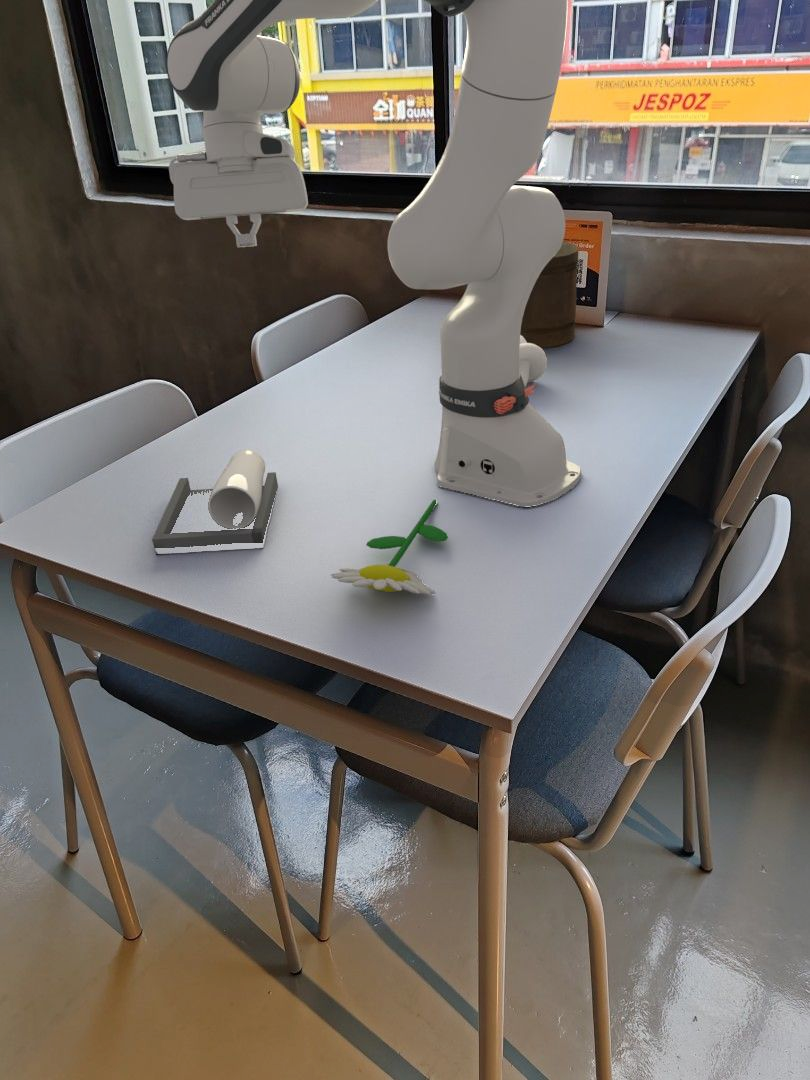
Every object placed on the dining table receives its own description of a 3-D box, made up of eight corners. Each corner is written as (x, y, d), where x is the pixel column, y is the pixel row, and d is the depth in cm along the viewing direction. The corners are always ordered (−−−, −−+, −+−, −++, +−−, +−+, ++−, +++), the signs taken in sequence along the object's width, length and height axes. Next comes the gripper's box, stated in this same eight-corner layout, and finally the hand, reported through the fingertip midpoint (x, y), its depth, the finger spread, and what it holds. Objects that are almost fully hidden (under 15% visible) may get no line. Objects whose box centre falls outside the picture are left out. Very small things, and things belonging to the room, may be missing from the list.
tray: (183, 492, 124) (179, 478, 123) (278, 486, 124) (275, 472, 123) (156, 555, 110) (152, 539, 109) (263, 548, 110) (260, 532, 108)
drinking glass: (246, 492, 127) (231, 539, 113) (216, 460, 124) (196, 504, 111) (279, 467, 125) (268, 512, 112) (249, 434, 122) (233, 476, 109)
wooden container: (585, 330, 176) (591, 222, 164) (557, 352, 166) (561, 239, 154) (521, 322, 183) (523, 218, 172) (491, 343, 173) (490, 234, 161)
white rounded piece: (544, 374, 156) (546, 328, 152) (547, 399, 146) (549, 350, 141) (485, 375, 158) (484, 329, 153) (483, 400, 148) (483, 352, 143)
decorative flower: (392, 514, 120) (314, 614, 94) (393, 483, 118) (313, 577, 92) (477, 527, 117) (421, 634, 91) (480, 495, 115) (423, 596, 89)
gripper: (161, 151, 122) (175, 250, 125) (299, 140, 121) (309, 239, 125) (172, 158, 128) (185, 253, 131) (303, 148, 127) (313, 242, 131)
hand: (247, 246), depth 128 cm, fingers closed
